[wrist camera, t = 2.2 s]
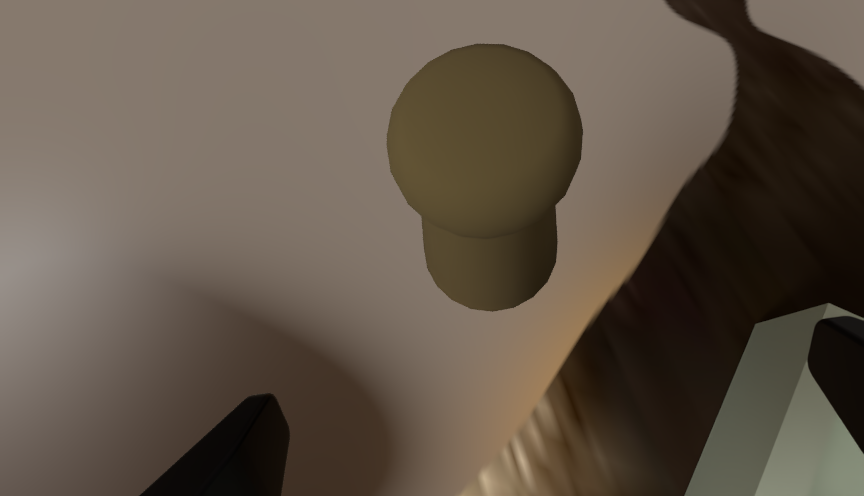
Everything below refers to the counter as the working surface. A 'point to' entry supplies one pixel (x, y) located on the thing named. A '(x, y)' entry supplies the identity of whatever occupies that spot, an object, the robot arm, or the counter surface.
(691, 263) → the counter surface
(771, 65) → the counter surface
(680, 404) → the counter surface
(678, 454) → the counter surface
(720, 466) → the end cap socket
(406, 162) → the cork
